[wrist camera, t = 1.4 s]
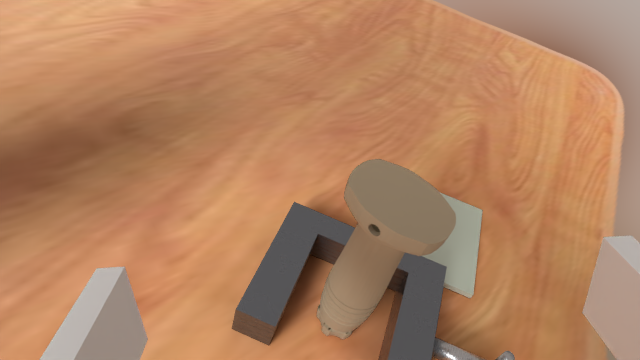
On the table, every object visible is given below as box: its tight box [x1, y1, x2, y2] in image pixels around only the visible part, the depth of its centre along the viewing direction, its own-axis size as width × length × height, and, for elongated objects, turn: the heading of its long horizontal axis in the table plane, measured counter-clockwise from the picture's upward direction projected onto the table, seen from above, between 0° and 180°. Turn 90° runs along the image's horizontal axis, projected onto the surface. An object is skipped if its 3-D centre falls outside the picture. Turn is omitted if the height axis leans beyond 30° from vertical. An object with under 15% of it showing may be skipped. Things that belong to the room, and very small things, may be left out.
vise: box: [232, 202, 515, 360], centre depth 36 cm, size 19×11×4 cm, turn 70°
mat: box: [423, 193, 483, 298], centre depth 45 cm, size 11×11×1 cm
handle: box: [317, 159, 456, 339], centre depth 31 cm, size 5×6×15 cm
